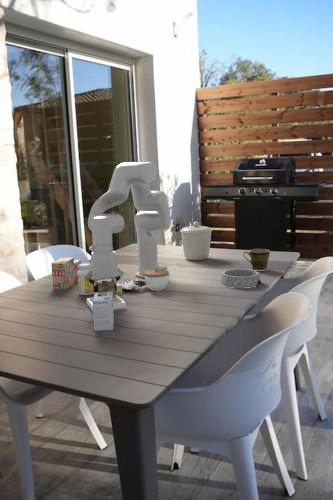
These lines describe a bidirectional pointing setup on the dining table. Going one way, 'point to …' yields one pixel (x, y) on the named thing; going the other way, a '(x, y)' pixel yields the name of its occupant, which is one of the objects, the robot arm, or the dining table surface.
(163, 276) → the lidded jar
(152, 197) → the robot arm
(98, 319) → the light bulb box
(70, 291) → the dining table surface
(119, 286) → the oak block
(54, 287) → the stack of blocks
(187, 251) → the canister
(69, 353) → the dining table surface
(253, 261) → the ceramic cup
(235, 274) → the dog bowl
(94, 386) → the dining table surface
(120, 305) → the tray
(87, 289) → the supplement bottle
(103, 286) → the walnut block
